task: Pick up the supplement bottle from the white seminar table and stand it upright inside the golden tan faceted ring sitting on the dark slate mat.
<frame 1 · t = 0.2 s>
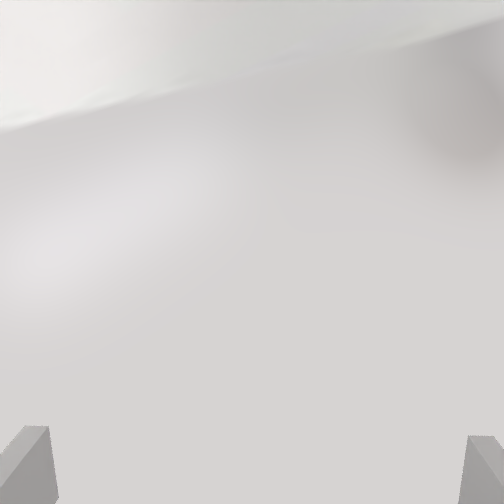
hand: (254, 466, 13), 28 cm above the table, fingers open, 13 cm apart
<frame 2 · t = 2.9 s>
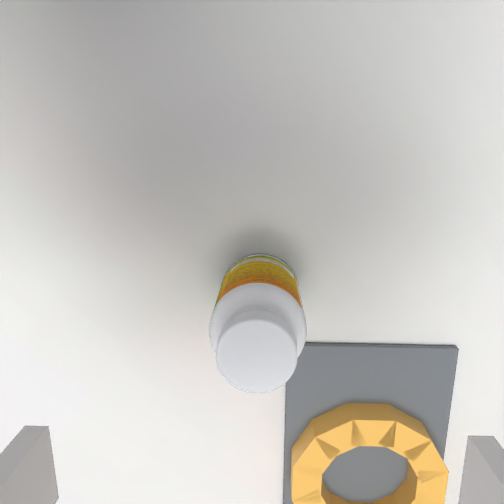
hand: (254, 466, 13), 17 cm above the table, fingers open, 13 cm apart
slate mat: (363, 439, 32), on the table
supplement bottle: (260, 288, 30), on the table
golden tan faceted ring: (362, 465, 32), resting on slate mat
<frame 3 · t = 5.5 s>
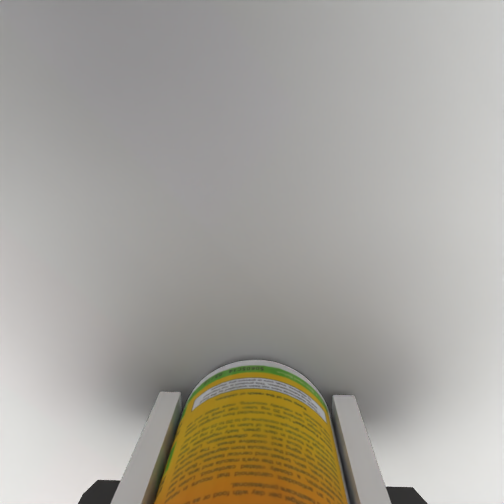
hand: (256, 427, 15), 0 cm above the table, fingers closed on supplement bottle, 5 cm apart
supplement bottle: (256, 418, 16), on the table, touching gripper
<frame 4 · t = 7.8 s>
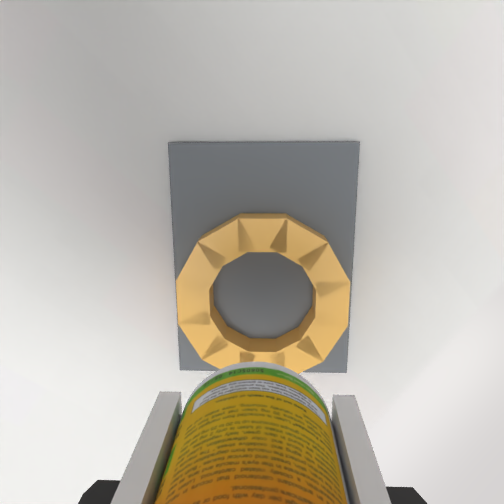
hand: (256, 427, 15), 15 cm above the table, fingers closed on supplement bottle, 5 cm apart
slate mat: (262, 262, 29), on the table
supplement bottle: (256, 419, 16), point 14 cm above the table, touching gripper
golden tan faceted ring: (262, 292, 29), resting on slate mat
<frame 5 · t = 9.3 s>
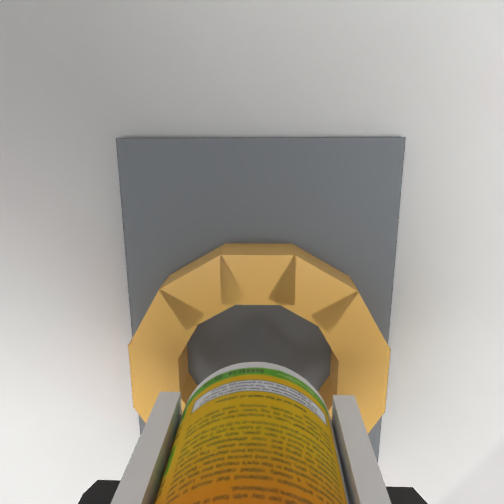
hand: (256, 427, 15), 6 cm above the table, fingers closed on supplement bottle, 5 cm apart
slate mat: (259, 312, 20), on the table
supplement bottle: (256, 420, 16), point 5 cm above the table, touching gripper
golden tan faceted ring: (258, 356, 20), resting on slate mat
when the fingers open (3 cm above the table, at t = 10.5 s): supplement bottle drops 2 cm, resting on slate mat.
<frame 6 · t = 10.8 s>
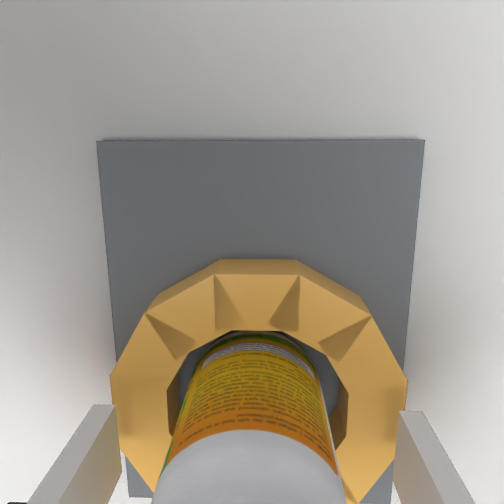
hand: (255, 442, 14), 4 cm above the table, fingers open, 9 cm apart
slate mat: (258, 335, 18), on the table
supplement bottle: (255, 381, 18), resting on slate mat
golden tan faceted ring: (258, 384, 18), resting on slate mat
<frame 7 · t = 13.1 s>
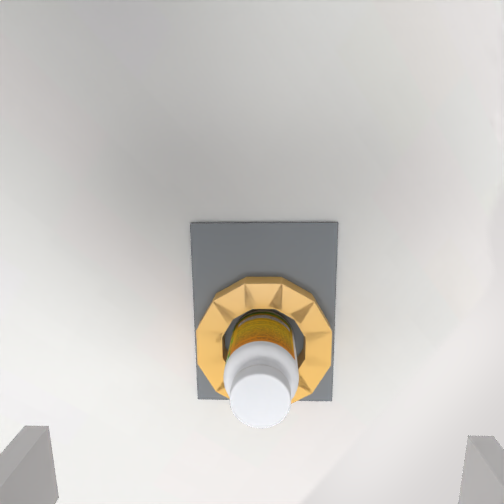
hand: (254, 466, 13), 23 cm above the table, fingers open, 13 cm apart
slate mat: (264, 314, 36), on the table
supplement bottle: (262, 336, 36), resting on slate mat
golden tan faceted ring: (264, 337, 36), resting on slate mat
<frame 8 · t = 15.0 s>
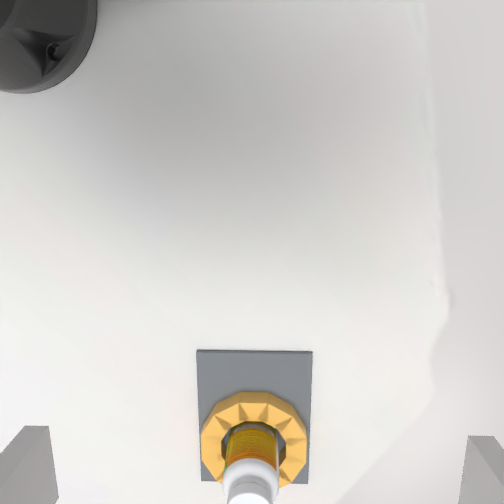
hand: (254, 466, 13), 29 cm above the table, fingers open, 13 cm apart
slate mat: (254, 417, 46), on the table
supplement bottle: (253, 435, 46), resting on slate mat
golden tan faceted ring: (254, 436, 46), resting on slate mat
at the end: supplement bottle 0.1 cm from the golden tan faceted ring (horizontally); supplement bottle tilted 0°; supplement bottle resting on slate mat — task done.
